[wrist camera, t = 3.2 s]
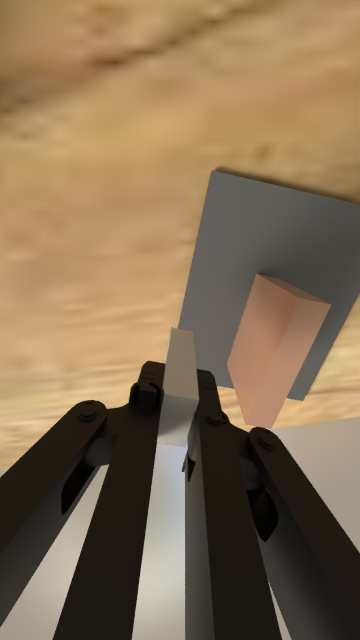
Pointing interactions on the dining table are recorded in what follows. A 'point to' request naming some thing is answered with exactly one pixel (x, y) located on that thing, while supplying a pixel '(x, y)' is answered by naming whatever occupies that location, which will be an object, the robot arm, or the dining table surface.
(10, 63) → the dining table surface
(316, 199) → the mat
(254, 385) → the block
